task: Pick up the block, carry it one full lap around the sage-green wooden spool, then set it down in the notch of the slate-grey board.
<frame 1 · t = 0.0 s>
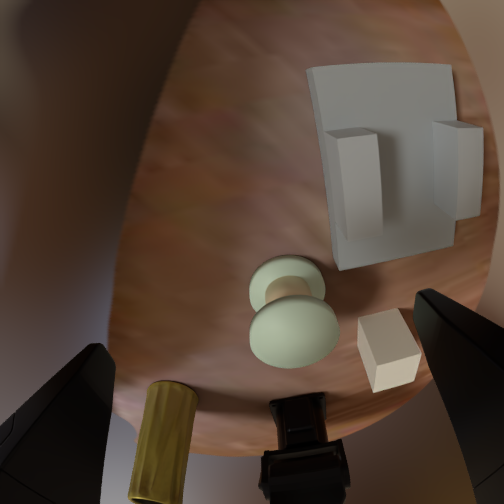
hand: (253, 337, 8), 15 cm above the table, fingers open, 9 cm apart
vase: (173, 393, 33), on the table
block: (377, 327, 28), on the table
notch board: (389, 160, 20), on the table
spool: (286, 287, 25), on the table
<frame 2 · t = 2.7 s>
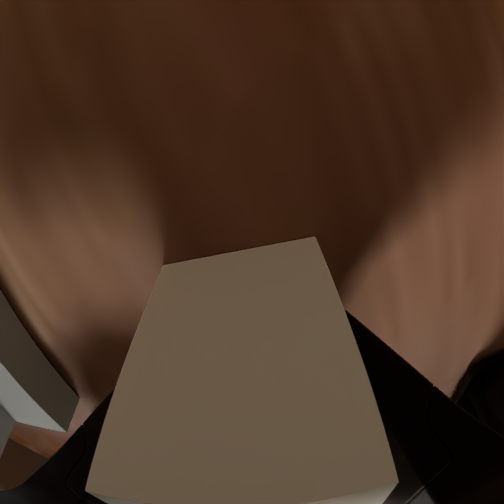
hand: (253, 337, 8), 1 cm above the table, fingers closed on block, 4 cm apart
block: (252, 311, 9), on the table, touching gripper
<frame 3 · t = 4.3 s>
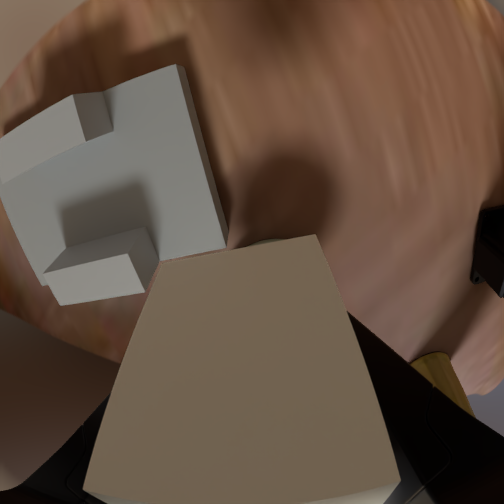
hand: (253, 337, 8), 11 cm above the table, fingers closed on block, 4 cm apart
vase: (422, 370, 26), on the table
block: (252, 309, 9), point 10 cm above the table, touching gripper
notch board: (99, 184, 17), on the table
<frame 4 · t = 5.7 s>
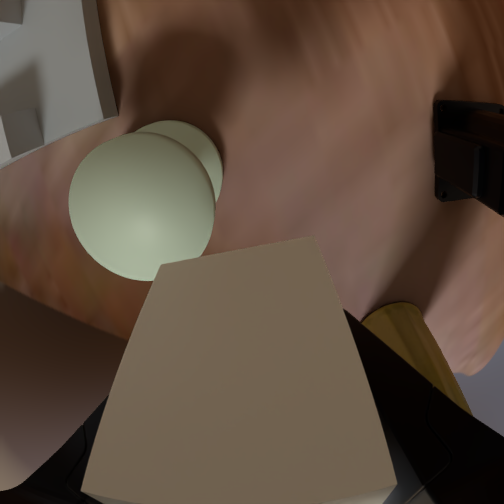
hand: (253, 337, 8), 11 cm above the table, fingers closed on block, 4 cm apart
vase: (387, 328, 23), on the table
block: (251, 311, 9), point 10 cm above the table, touching gripper
notch board: (12, 85, 13), on the table
spool: (169, 173, 16), on the table
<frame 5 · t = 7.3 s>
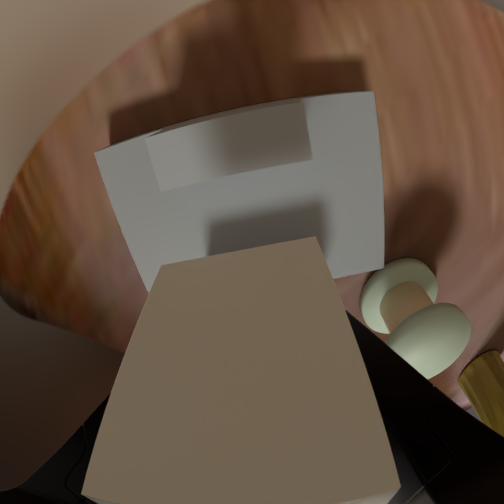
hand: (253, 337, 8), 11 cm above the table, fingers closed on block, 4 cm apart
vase: (478, 366, 27), on the table
block: (252, 312, 9), point 10 cm above the table, touching gripper
notch board: (249, 197, 17), on the table
spool: (397, 293, 21), on the table
when the fingers open (4 cm above the table, at t = 8.6 s): block drops 2 cm, resting on notch board.
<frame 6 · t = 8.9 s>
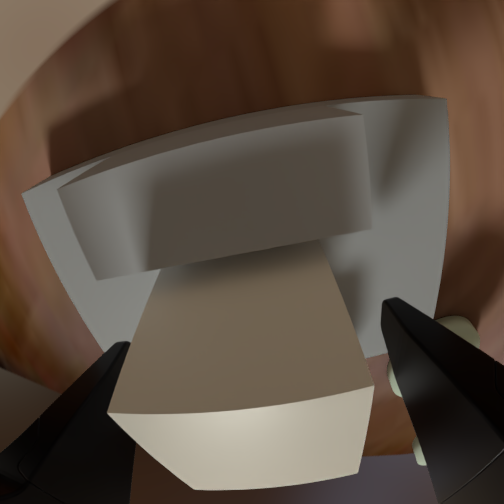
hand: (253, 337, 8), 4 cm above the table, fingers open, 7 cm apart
block: (252, 280, 10), point 2 cm above the table, touching notch board
notch board: (250, 252, 12), on the table
spool: (432, 354, 15), on the table
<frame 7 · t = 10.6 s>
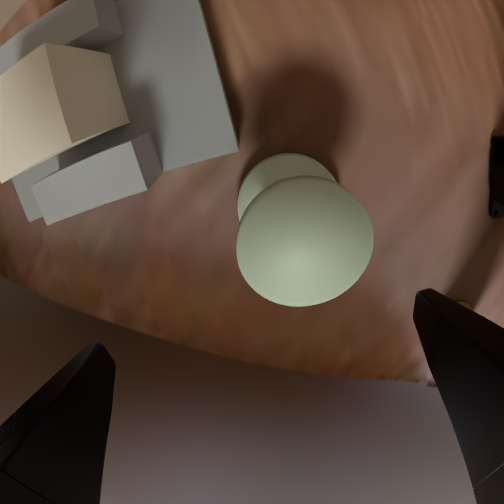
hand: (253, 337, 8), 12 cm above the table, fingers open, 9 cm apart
block: (86, 102, 13), point 2 cm above the table, touching notch board
notch board: (101, 101, 15), on the table
spool: (288, 202, 18), on the table
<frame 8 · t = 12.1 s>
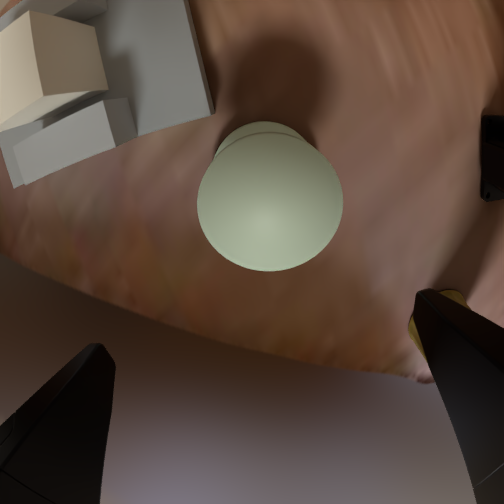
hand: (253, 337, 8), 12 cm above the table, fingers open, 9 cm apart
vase: (435, 314, 24), on the table
block: (71, 72, 13), point 2 cm above the table, touching notch board
notch board: (86, 73, 14), on the table
spool: (264, 171, 18), on the table
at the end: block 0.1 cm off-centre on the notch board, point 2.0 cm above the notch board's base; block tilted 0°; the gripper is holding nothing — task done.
